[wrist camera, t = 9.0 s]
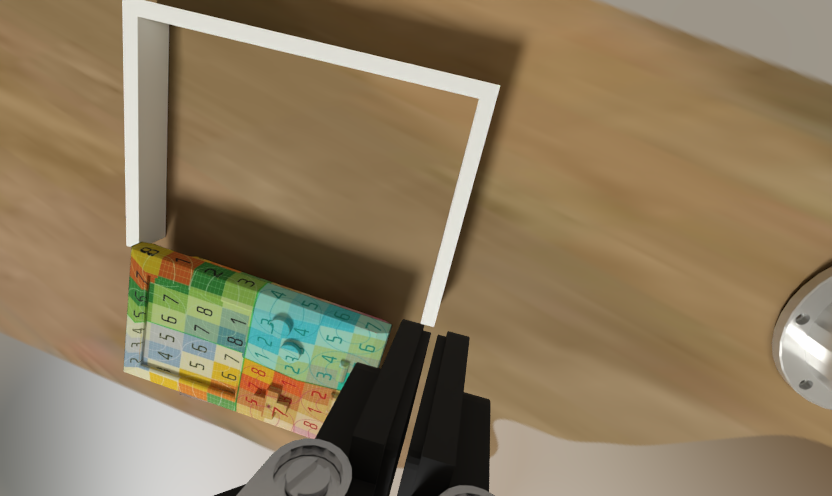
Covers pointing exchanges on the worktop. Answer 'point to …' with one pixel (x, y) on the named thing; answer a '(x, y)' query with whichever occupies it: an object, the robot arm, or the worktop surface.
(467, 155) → the frame
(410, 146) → the worktop surface
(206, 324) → the puzzle game
